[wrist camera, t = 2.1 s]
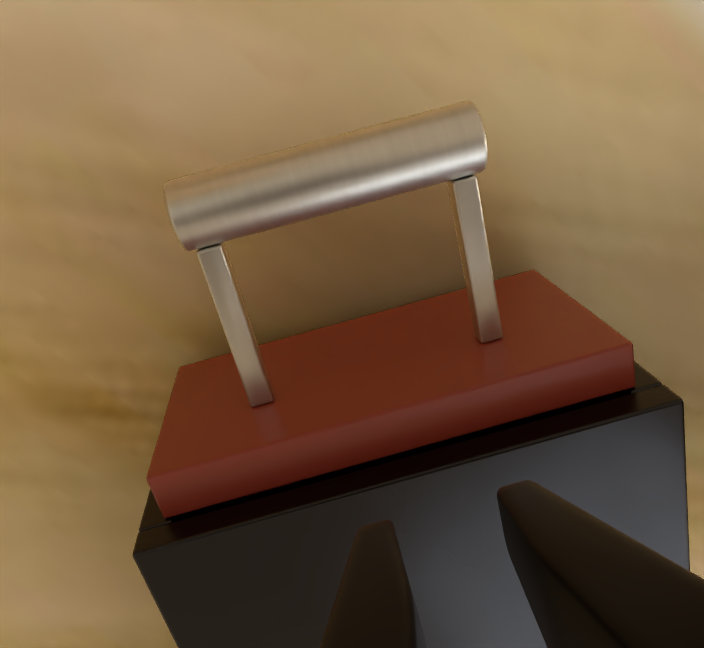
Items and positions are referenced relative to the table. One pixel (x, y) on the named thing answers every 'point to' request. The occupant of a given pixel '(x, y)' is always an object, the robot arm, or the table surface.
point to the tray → (365, 329)
